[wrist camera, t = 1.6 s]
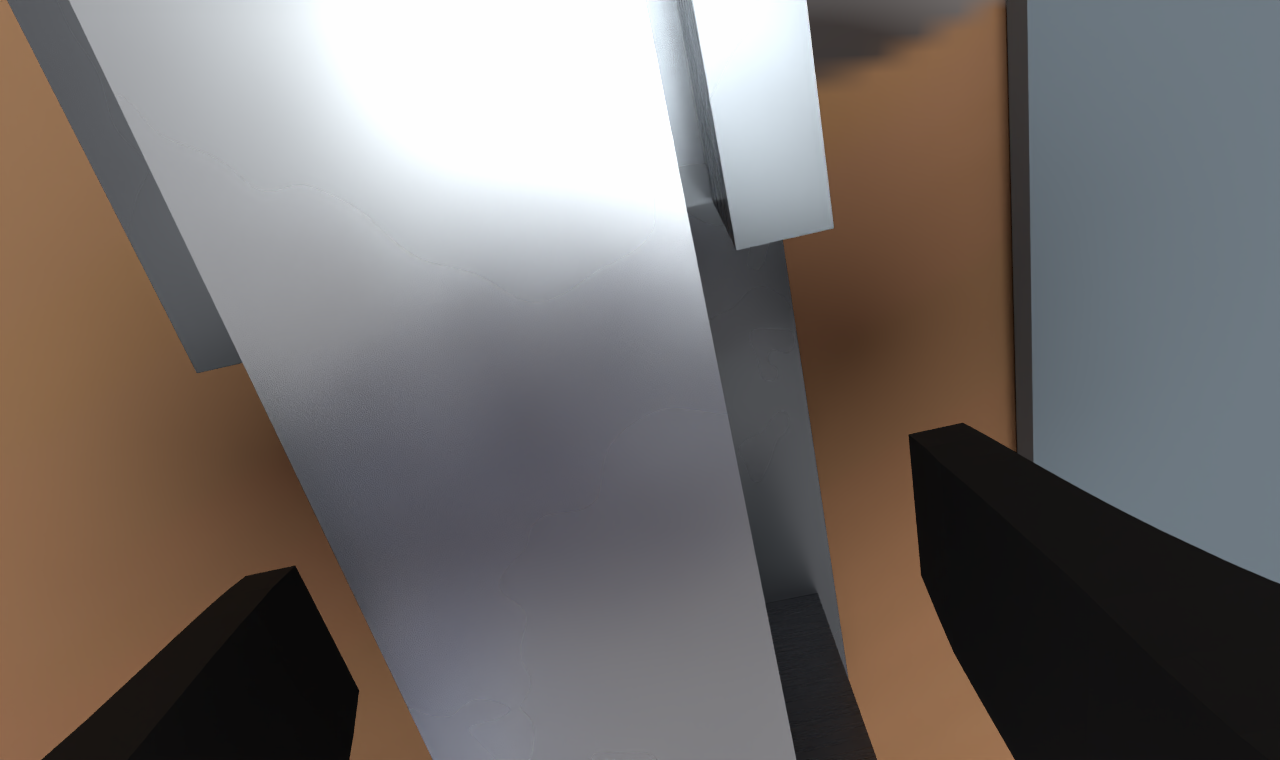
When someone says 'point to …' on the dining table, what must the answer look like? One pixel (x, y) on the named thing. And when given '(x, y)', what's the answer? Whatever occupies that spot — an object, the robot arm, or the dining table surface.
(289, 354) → the rail
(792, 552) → the rack
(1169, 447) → the mat
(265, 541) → the dining table surface
